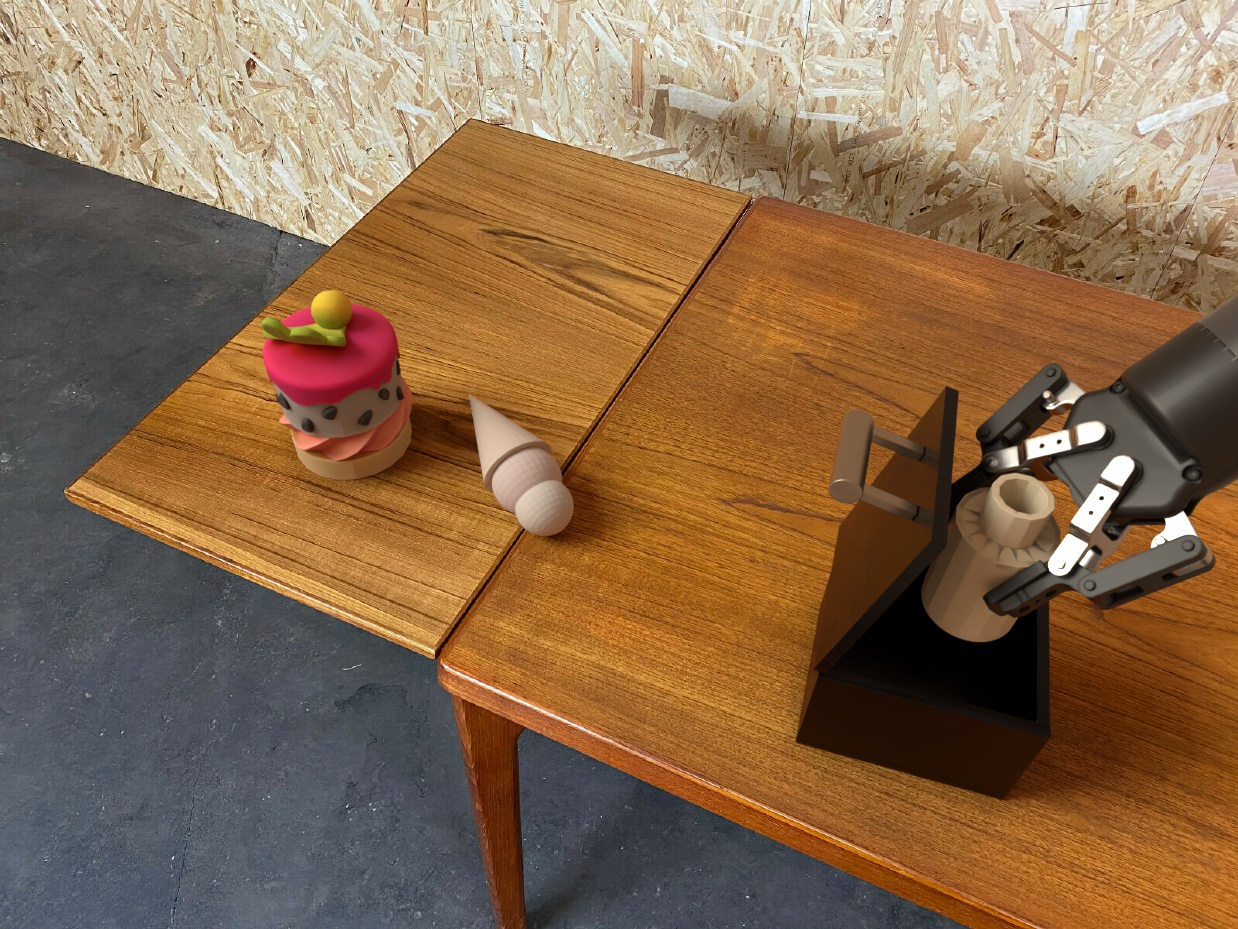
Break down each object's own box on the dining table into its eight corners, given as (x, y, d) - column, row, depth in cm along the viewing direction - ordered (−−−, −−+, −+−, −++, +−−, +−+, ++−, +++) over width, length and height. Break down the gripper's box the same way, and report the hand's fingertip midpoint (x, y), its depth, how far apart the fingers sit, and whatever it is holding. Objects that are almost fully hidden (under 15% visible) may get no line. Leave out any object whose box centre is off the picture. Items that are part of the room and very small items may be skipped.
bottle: (1016, 577, 59) (1077, 470, 52) (1014, 653, 56) (1080, 548, 48) (924, 555, 60) (971, 447, 53) (917, 628, 57) (966, 523, 49)
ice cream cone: (474, 422, 84) (560, 553, 77) (422, 415, 79) (509, 555, 72) (514, 371, 81) (606, 503, 75) (462, 361, 76) (557, 501, 70)
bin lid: (959, 390, 54) (867, 353, 54) (946, 546, 46) (840, 503, 46) (849, 530, 65) (773, 499, 65) (825, 674, 57) (739, 639, 57)
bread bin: (1006, 651, 69) (1049, 581, 63) (1002, 800, 62) (1051, 737, 55) (820, 605, 72) (843, 532, 65) (795, 742, 64) (817, 676, 58)
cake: (313, 391, 86) (272, 251, 75) (428, 400, 86) (404, 261, 75) (274, 477, 79) (222, 337, 68) (399, 488, 79) (368, 349, 68)
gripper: (1143, 253, 50) (879, 446, 56) (1345, 452, 40) (999, 655, 47) (1184, 320, 54) (936, 490, 61) (1373, 511, 45) (1056, 687, 52)
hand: (965, 561), depth 54 cm, fingers closed on bottle, 5 cm apart
